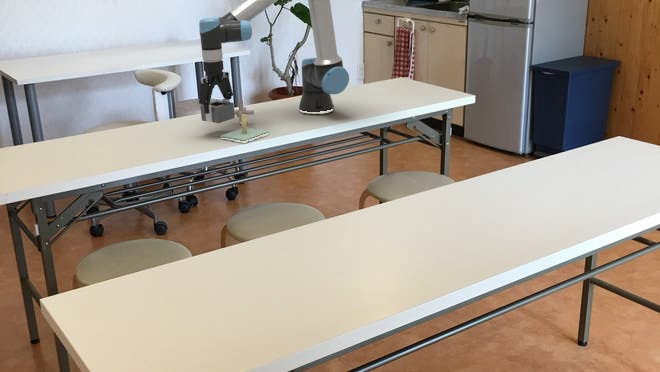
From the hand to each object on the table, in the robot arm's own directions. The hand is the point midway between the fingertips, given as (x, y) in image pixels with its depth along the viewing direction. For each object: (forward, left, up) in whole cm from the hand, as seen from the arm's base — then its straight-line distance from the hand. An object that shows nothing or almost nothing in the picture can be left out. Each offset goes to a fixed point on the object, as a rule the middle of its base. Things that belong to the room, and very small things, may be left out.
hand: (218, 118), depth 273 cm
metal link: (0, 0, 0) cm, 0 cm away
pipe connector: (-16, -2, -6) cm, 17 cm away
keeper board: (-2, +12, -6) cm, 13 cm away
